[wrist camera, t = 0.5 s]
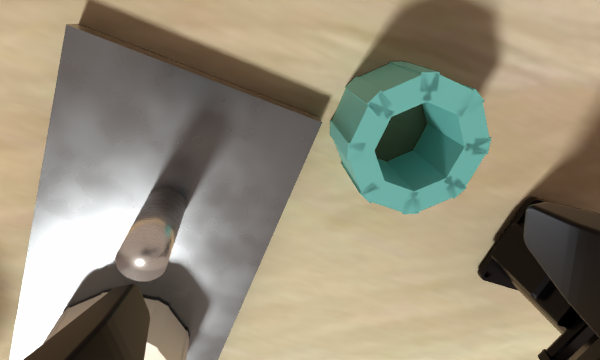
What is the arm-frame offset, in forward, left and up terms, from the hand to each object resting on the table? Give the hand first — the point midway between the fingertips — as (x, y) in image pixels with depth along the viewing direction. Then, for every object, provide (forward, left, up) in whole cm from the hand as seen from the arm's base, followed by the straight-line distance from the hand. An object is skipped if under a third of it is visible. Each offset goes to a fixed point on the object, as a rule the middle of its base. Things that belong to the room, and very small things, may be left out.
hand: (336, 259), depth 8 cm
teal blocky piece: (-6, -2, -13) cm, 14 cm away
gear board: (+4, +10, -12) cm, 17 cm away
